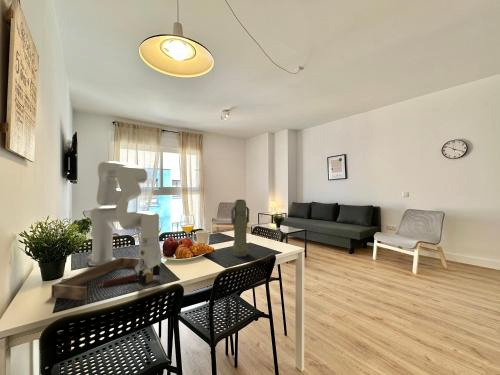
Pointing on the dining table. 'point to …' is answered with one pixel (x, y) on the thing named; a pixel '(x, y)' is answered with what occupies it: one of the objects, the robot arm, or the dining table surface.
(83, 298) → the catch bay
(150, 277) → the gavel
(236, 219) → the tall olive-grey vase
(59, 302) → the dining table surface
